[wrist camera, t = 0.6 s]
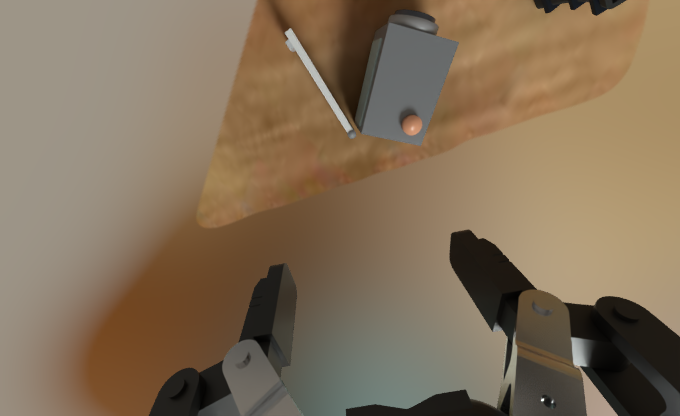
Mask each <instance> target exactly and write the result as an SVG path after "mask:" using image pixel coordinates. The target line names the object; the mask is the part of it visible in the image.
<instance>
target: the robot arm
mask: <svg viewBox="0 0 680 416" xmlns="http://www.w3.org/2000/svg"><path fill="white" fill-rule="evenodd" d="M450 263H451V266H452V268H453V269H454V271H455V273H456V274H457V276H458V278H459V279H460V281H461V282H462V284H463V286H464V287H465V289H466V290H467V292H468V293H469V295H470V297H471V298H472V300H473V301H474V303H475V305H476V306H477V308H478V309H479V311H480V313H481V314H482V316H483V317H484V319H485V320H486V322H487V323H488V325H489V327H490V328H491V330H492V331H493V332H495V331H501V330H503V331H504V332H505V334H506V336H507V339H506V346H505V356H504V364H503V373H502V381H501V388H500V393H499V398H498V404H497V408H495V407H493V406H491V405H489V404H486V403H484V402H481V401H477V400H473V399H470V398H469V396H468V394H467V391H466V390H460V391H454V392H448V393H442V394H436V395H434V396H432V397H430V398H428V399H426V400H424V401H423V402H421V403H419V404H417V405H415V406H413V407H411V408H409V409H402V408H395V407H388V406H382V405H376V404H375V405H368V406H362V407H356V408H350V409H346V416H587V414H586V404H585V395H584V386H583V378H582V374H581V371H580V370H579V369H578V368H576V367H574V365H578V366H580V367H581V368H582V370H583V371H584V372H585V373H586V375H587V376H588V377H589V379H590V380H591V381H592V383H593V384H594V385H595V386H596V388H597V389H598V390H599V392H600V393H601V394H602V395H603V397H604V398H605V399H606V401H607V402H608V403H609V404H610V406H611V407H612V408H613V410H614V411H615V412H616V413H617V415H618V416H680V337H679V336H678V335H677V334H676V333H675V332H673V331H672V330H671V329H670V328H668V327H667V326H666V325H665V324H664V323H662V322H661V321H660V320H659V319H658V318H656V317H655V316H654V315H653V314H651V313H650V312H649V311H648V310H646V309H645V308H643V307H642V306H640V305H638V304H636V303H634V302H632V301H630V300H627V299H623V298H620V297H613V296H606V297H602V298H599V299H598V300H597V302H596V304H595V305H594V306H591V305H581V304H572V303H564V302H562V301H561V300H560V299H558V298H557V297H556V296H554V295H552V294H550V293H548V292H544V291H541V290H537V289H536V288H535V287H534V286H533V285H532V284H531V283H530V282H529V281H528V280H527V278H526V277H525V276H524V275H523V274H522V273H521V272H520V271H519V270H518V269H517V268H516V267H515V266H514V265H513V264H512V262H510V261H509V259H508V258H507V257H506V256H505V255H503V253H502V252H501V251H500V250H499V249H498V248H497V247H496V245H494V244H493V243H491V242H489V241H488V240H486V239H484V238H482V239H478V238H477V237H476V236H475V235H474V234H473V233H472V231H470V230H464V231H458V232H454V233H452V234H451V242H450ZM296 299H297V290H296V285H295V283H294V280H293V278H292V275H291V273H290V270H289V268H288V265H287V264H286V263H284V264H279V265H273V266H270V268H269V272H268V275H267V278H263V279H260V281H259V282H258V284H257V285H256V286H255V288H254V291H253V294H252V300H251V302H250V305H249V309H248V312H247V315H246V319H245V323H244V326H243V330H242V333H241V336H240V340H239V342H238V343H237V344H236V345H234V346H233V347H232V348H231V349H230V351H229V352H228V353H227V355H226V356H225V359H224V360H223V361H221V362H219V363H218V364H216V365H214V366H212V367H210V368H208V369H206V370H204V371H202V372H200V373H199V372H198V371H197V370H195V369H193V368H186V369H183V370H180V371H178V372H177V373H175V374H174V375H173V376H171V377H170V378H169V379H168V380H167V382H165V384H164V385H163V386H162V388H161V390H160V391H159V393H158V396H157V398H156V400H155V403H154V405H153V407H152V409H151V412H150V414H149V416H303V414H302V412H301V411H300V409H299V408H298V406H297V404H296V403H295V401H294V399H293V398H292V396H291V395H290V393H289V391H288V390H287V388H286V386H285V385H284V383H283V382H282V380H281V378H280V377H281V369H282V367H285V366H290V361H291V351H292V341H293V330H294V320H295V310H296Z"/></svg>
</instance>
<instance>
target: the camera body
mask: <svg viewBox="0 0 680 416" xmlns="http://www.w3.org/2000/svg"><path fill="white" fill-rule="evenodd" d="M438 28H439V27H438V25H437V24H435V18H433V17H432V16H430V15H428V14H425V13H422V12H418V11H413V10H397V11H396V12H395V15H391V16H389V19H388V23H387V24H386V25H384V26H383V27H381V28H379V29H378V30H376V31H375V36H374V40H373V42H372V47H371V51H370V56H369V60H368V64H367V69H366V73H365V77H364V82H363V86H362V90H361V95H360V99H359V103H358V108H357V112H356V117H355V125H356V126H357V128H358V129H359V131H360V132H361V134H365V135H370V136H375V137H380V138H385V139H390V140H395V141H400V142H405V143H409V144H414V145H419V146H421V144H422V141H423V138H424V136H425V133H426V130H427V128H428V125H429V122H430V119H431V117H432V114H433V111H434V109H435V106H436V103H437V100H438V98H439V95H440V92H441V90H442V87H443V84H444V82H445V79H446V76H447V73H448V71H449V68H450V65H451V63H452V60H453V57H454V54H455V52H456V49H457V46H458V44H459V42H456V41H452V40H449V39H446V38H442V37H439V36H436V34H437V31H438Z"/></svg>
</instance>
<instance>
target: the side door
mask: <svg viewBox="0 0 680 416" xmlns="http://www.w3.org/2000/svg"><path fill="white" fill-rule="evenodd" d="M285 34H286V36H287V37H288V40H287V41H286V42H285V43H286V44H287V46H288V47H289V49H290V50H291V51H292V52H294V51H295V50H296V52H297V53H298V55H299V57H300V58H301V60H302V61H303V63H304V65H305V66H306V68H307V69H308V71H309V73H310V74H311V76H312V77H313V79H314V80H315V82H316V84H317V85H318V87H319V88H320V90H321V92H322V93H323V95H324V96H325V98H326V100H327V101H328V103H329V104H330V106H331V108H332V109H333V111H334V112H335V114H336V116H337V117H338V119H339V120H340V122H341V124H342V125H343V127H344V128H345V130H346V132H347V134H348V136H349V138H351V139H353V138H355V136H356V132H355V131H354V129H353V127H352V126H351V124H350V123H349V122H348V120H347V119H346V117H345V116H344V114H343V112H342V111H341V109H340V107H339V106H338V104H337V102H336V101H335V99H334V97H333V96H332V94H331V93H330V91H329V89H328V88H327V86H326V84H325V83H324V81H323V79H322V78H321V76H320V74H319V73H318V71H317V70H316V68H315V66H314V65H313V63H312V61H311V60H310V58H309V56H308V55H307V53H306V52H305V50H304V48H303V47H302V45H301V43H300V42H299V40H298V38H297V37H296V35H295V33H294V32H293V31H292V29H291V28H290V29H289V30H288V31H286V32H285Z"/></svg>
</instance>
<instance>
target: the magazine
mask: <svg viewBox="0 0 680 416" xmlns="http://www.w3.org/2000/svg"><path fill="white" fill-rule="evenodd" d="M534 1H535V4H536V7H537V8H538V9H541V8H544V10H545V13H550V12H551V11H553V10H554V9H555V8H557V7H558V6H559V5H560V4H562V3H569V5H570V9H571V10H575V9H576V8H578V7H579V6H581V5H582V4H584V3H585V2H589V3H590V6H591V10H592V14H594V15H596V16H597V15H599V14H600V13H602V12H604V11H605V10H607V9H612V8H615V7H616V6H618V5H619V4H621V3H623V2H624V1H626V0H534Z"/></svg>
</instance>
